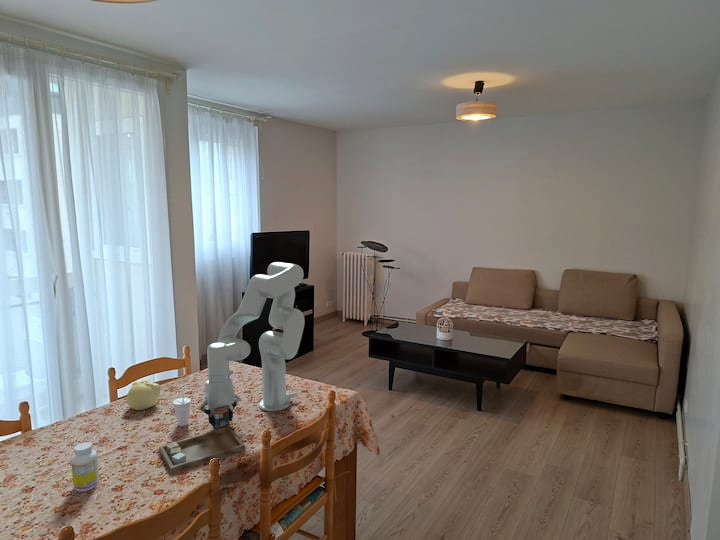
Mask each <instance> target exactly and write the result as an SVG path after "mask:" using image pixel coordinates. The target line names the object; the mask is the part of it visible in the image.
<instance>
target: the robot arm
mask: <svg viewBox="0 0 720 540" xmlns="http://www.w3.org/2000/svg"><path fill="white" fill-rule="evenodd" d="M266 273H267V274H255V275H253V276H252V277H251V278H250V279H249V282H248V284H247V287H246V289H245V292H244V295H243V297H242V301H241V303H240V304H239V306H238V309H237V310H236V312H234V313H233V314H232V315H231V316H230V317H229V318H228V319H227V320H226V321H225V322H224V324H223V326H222V327H221V330H220V332H219V335H218V337H217V341H216V342H213V343H211V344H209V345H207V348H206V352H207V353H206V356H207V357H206V359H207V375H208V376H207V377H208V378H207V379H208V380H206V382H205V388H204V400H203V401H202V402H201V404H200V405H199V407H198V409H199V410H200V411H202V412H203V413H205V414H206V415H208V424H209V425H210V426H211V427H213V426H215V423H214V415H213V412H214V409H215V408H218V407H222V406H227V405H228V407H229V422H232V421H233V417H234V412H233V411H234V410H235V408H236V407H237V405H238V403H240V401H241V397H240V396H239V395H237V394H236V393H235V389H234V383H233V379H232V377H231V376H232V375H233V374H234V370H230V362H235V361H242V360H244V359H246V358H247V357H249V355H250V354H251V349H252V348H251V345H250V344H249V343H248V342H247V341H246V340H243V339H240V338H237V335H238V333H239V331H240V329H242V327H244V325H247V324H248V323H250V322H252V321H254V320H258V319H259V318H260V316H261V313H262V312H263V309H264V306H265V303H266V301H267V298H269V299H272V300H273V301H272V304H271V309H270V312H269V316H268V324H269V325H270V326H271V327H272V328H275V329H279V330H281V331H282V330H283V332H279V331H275V330H267V331H265V332H263V333H262V334H260V335H261V336H260V337H259V340H258V349H259V353H260V357H261V359H260V360H261V375H262V377H261V379H262V382H261V383H262V399H261V401H259V403H258V404H259V409H261V410H263V411H265V412H280V411H282V410H283V411H284V410H285V409H288V408H289V407H290V405H291V399H292V398H296V397H297V396H298V395H297V392H296V391H294V392H291V391H287V381H286V380H287V377H286V376H287V375H286V360H291V359H293V358H295V356H296V355H297V353H298V350H299V348H300V343H301V341H302V336H303V333H304V328H305V315H304V313H303V312H302V311H301V310H300V309H298V308H294V304H295V299H296V291H295V288H296V287H297V286H299V284H301V282H302V281H303V279H304V276H305V275H304V270H303V267H301V266H300V265H298V264H295V263H289V262H283V261H282V262H281V261H275V262H272V263H270V264H268V267H267V270H266ZM206 406H207V408H206Z"/></svg>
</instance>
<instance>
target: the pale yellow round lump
mask: <svg viewBox="0 0 720 540" xmlns="http://www.w3.org/2000/svg"><path fill="white" fill-rule="evenodd" d="M160 394H161V386H160V384H159V383H155V382H151V381H150V380H147V379H144V380H141V381H136V382H133V383H132V387H130V388H129V390H128V392H127V396H126V402H127V404H128V405H129V407H130V409H132V410H136V411H144V410H146V409H149V408H152V407H154V406H155V404H156V403H157V402H158V399H159V396H160Z"/></svg>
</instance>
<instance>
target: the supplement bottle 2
mask: <svg viewBox="0 0 720 540" xmlns="http://www.w3.org/2000/svg"><path fill="white" fill-rule="evenodd" d="M213 415H214V423H215V426H212V428H213V431H215V430H218V429H222V428H226V427H229V428H230V421H229V407H228V405H227V406H222V407H218V408H215V409H214V412H213Z"/></svg>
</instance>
